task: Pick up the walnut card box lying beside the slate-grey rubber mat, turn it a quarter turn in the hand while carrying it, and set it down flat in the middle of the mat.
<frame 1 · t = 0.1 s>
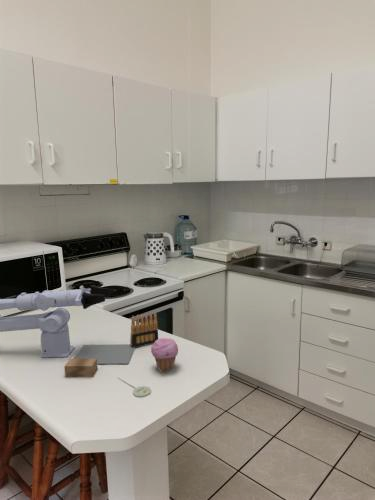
hand: (107, 294, 132), 22 cm above the countertop, tool horizontal, fingers open, 7 cm apart
card box: (81, 373, 122), on the countertop
cupcake: (165, 368, 123), on the countertop
sign: (132, 388, 113), on the countertop
mat: (104, 354, 134), on the countertop
ammunition clip: (144, 344, 141), on the countertop, touching mat
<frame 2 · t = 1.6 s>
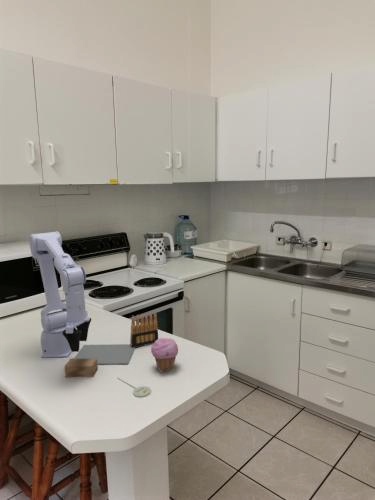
hand: (79, 345, 120), 9 cm above the countertop, tool pointing down, fingers open, 7 cm apart
nothing on the countertop moved.
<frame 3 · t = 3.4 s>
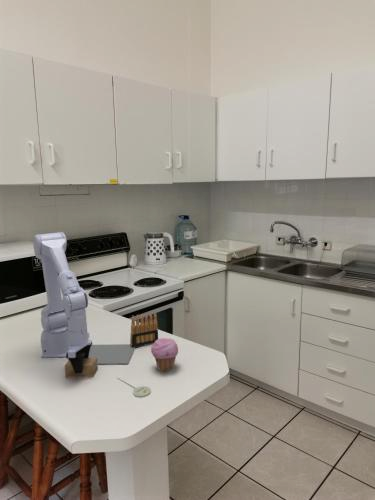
hand: (81, 368, 121), 2 cm above the countertop, tool pointing down, fingers closed on card box, 5 cm apart
card box: (82, 373, 121), on the countertop, touching gripper
everything else where it was.
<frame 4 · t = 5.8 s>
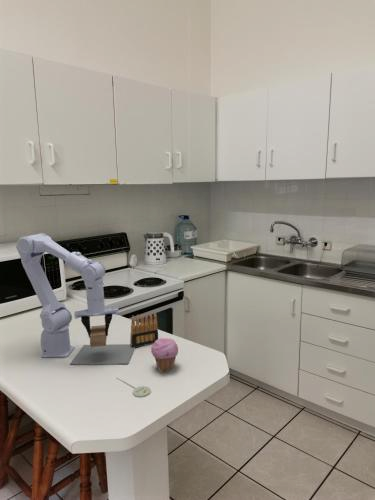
hand: (98, 335, 130), 8 cm above the countertop, tool pointing down, fingers closed on card box, 5 cm apart
card box: (98, 341, 130), point 6 cm above the countertop, touching gripper
everything else where it was.
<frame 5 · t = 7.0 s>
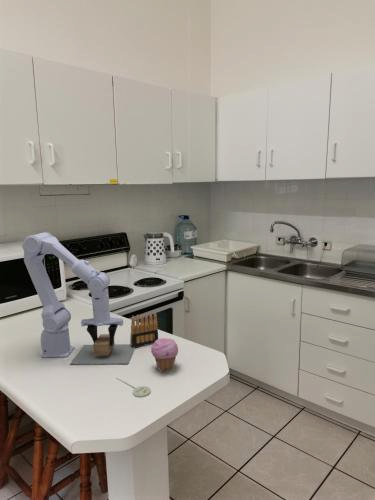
hand: (104, 344, 133), 4 cm above the countertop, tool pointing down, fingers closed on card box, 5 cm apart
card box: (104, 349, 134), point 2 cm above the countertop, touching gripper
everything else where it was.
when the fingers open (3 cm above the countertop, at t = 8.1 s): card box stays where it is, resting on mat.
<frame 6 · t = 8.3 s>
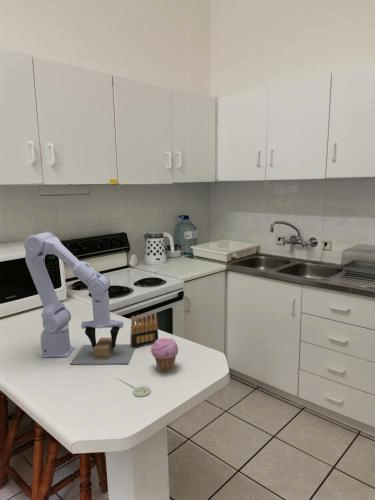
hand: (104, 346, 133), 3 cm above the countertop, tool pointing down, fingers open, 6 cm apart
card box: (104, 353, 134), resting on mat
everything else where it was.
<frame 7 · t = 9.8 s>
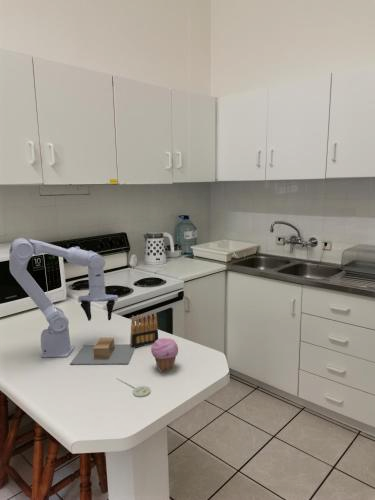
hand: (99, 319, 142), 9 cm above the countertop, tool pointing down, fingers open, 7 cm apart
nothing on the countertop moved.
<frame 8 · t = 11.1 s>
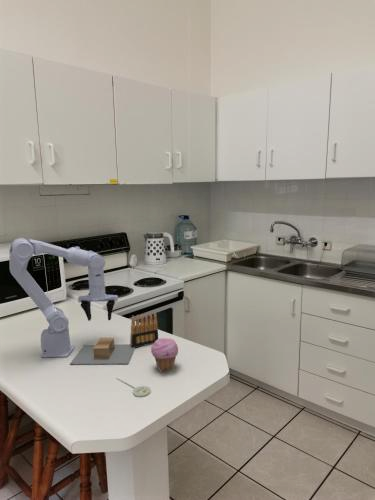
hand: (99, 319, 142), 9 cm above the countertop, tool pointing down, fingers open, 7 cm apart
nothing on the countertop moved.
at the end: card box inside the target area on the mat (0.1 cm from its centre), point 0.4 cm above the mat's base; card box tilted 0°; the gripper is holding nothing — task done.
